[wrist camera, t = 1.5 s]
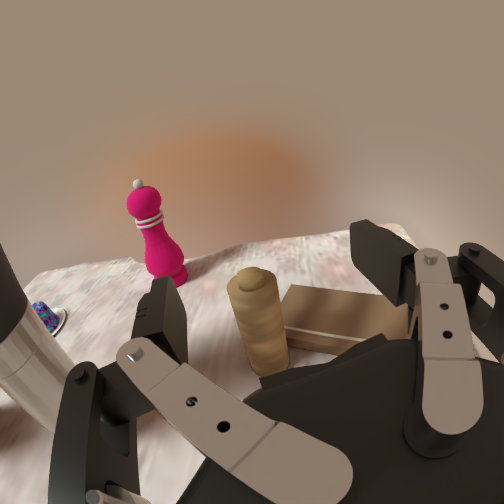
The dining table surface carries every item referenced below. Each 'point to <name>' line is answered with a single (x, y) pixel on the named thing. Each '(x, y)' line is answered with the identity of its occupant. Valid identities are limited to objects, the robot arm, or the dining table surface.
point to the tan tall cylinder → (260, 319)
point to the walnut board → (338, 318)
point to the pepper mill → (156, 234)
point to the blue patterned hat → (49, 316)
